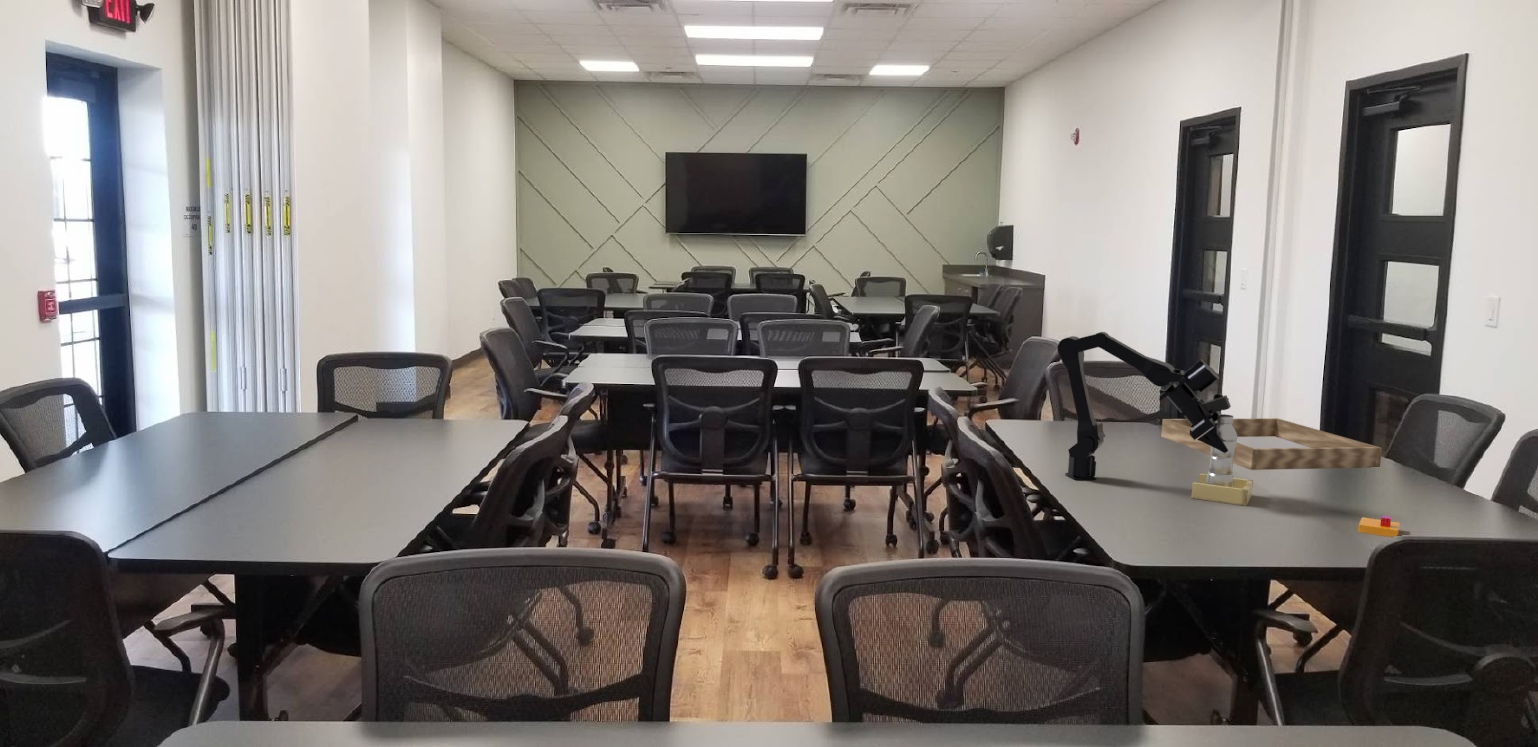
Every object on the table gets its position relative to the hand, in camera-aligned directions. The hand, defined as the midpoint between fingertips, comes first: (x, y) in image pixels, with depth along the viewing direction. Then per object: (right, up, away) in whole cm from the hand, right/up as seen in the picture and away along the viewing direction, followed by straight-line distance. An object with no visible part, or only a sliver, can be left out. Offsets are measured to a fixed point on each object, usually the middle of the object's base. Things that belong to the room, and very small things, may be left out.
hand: (1228, 449), depth 285 cm
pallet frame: (+38, -5, +63) cm, 74 cm away
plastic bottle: (-2, -11, +2) cm, 11 cm away
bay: (-1, -12, +2) cm, 13 cm away
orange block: (+24, -18, -27) cm, 40 cm away
